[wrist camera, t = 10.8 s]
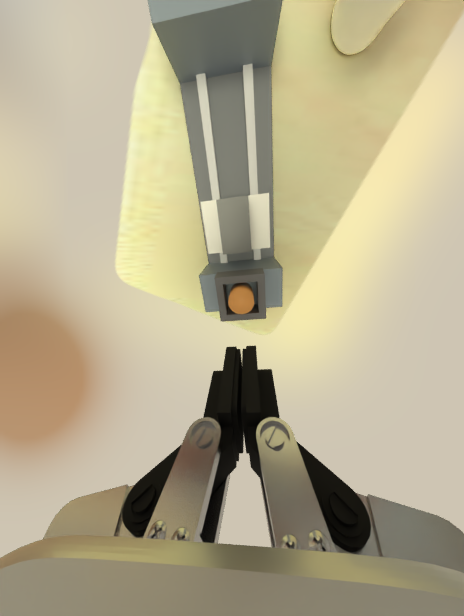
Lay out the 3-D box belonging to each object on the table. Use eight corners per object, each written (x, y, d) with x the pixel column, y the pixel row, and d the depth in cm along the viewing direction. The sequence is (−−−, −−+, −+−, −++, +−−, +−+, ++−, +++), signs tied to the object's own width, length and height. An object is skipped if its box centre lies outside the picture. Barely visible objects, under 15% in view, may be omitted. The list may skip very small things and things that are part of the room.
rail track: (175, 31, 20) (104, -163, 10) (267, 10, 19) (294, -229, 9) (215, 290, 33) (202, 322, 23) (272, 285, 32) (286, 317, 22)
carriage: (205, 203, 25) (189, 197, 17) (266, 195, 24) (275, 185, 17) (212, 250, 27) (200, 261, 20) (267, 244, 26) (276, 254, 19)
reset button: (228, 282, 22) (226, 291, 20) (252, 280, 22) (253, 289, 19) (231, 304, 24) (229, 314, 21) (253, 302, 23) (254, 313, 21)
